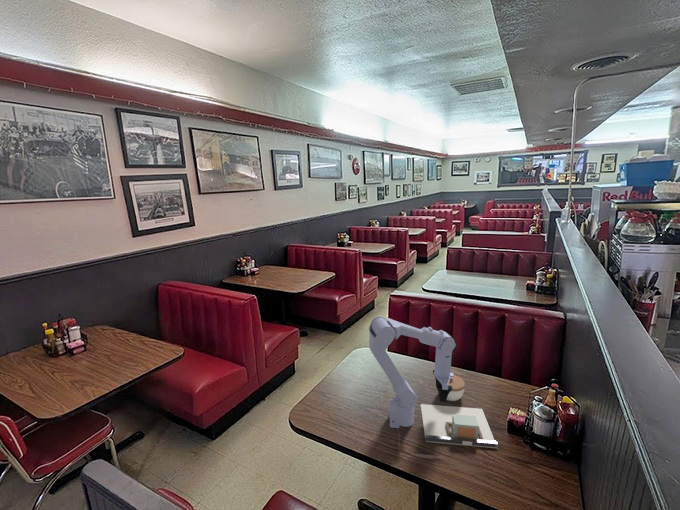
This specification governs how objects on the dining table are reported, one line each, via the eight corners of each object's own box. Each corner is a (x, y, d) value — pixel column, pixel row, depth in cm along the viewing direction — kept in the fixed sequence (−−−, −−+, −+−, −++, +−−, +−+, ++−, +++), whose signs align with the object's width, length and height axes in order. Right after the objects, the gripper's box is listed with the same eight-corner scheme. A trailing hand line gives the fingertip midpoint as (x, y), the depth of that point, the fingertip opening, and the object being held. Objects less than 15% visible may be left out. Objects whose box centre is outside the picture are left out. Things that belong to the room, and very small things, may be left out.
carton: (451, 428, 123) (452, 414, 122) (474, 430, 122) (475, 416, 121) (454, 439, 118) (455, 424, 117) (477, 441, 117) (479, 426, 116)
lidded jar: (458, 409, 134) (460, 388, 132) (433, 399, 141) (434, 379, 138) (467, 395, 143) (468, 376, 140) (442, 386, 149) (443, 367, 147)
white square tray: (425, 443, 117) (425, 437, 117) (420, 405, 137) (420, 400, 136) (497, 450, 114) (498, 444, 114) (481, 410, 133) (482, 405, 133)
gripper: (457, 374, 118) (455, 408, 121) (450, 353, 132) (448, 384, 135) (437, 373, 119) (435, 406, 122) (432, 352, 133) (430, 382, 136)
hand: (441, 394), depth 129 cm, fingers open, 7 cm apart
